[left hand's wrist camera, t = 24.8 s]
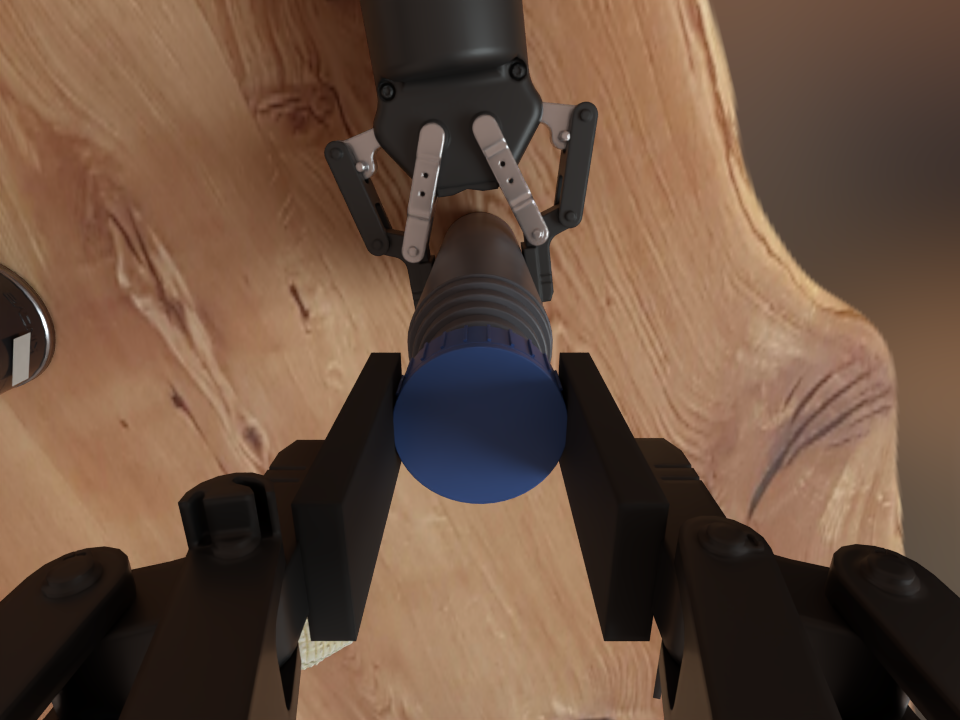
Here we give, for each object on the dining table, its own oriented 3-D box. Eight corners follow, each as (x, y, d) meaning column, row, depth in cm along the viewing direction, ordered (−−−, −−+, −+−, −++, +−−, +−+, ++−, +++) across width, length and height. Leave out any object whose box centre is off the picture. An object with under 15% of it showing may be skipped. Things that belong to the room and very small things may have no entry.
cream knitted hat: (255, 553, 42) (329, 621, 39) (314, 546, 50) (379, 602, 47) (193, 646, 41) (264, 722, 39) (262, 624, 49) (325, 686, 47)
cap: (578, 448, 15) (588, 481, 14) (429, 487, 16) (424, 523, 14) (538, 302, 14) (545, 321, 12) (375, 350, 14) (362, 374, 13)
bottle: (530, 232, 36) (616, 373, 13) (496, 299, 38) (522, 525, 15) (461, 198, 35) (429, 286, 13) (430, 268, 37) (351, 456, 14)
